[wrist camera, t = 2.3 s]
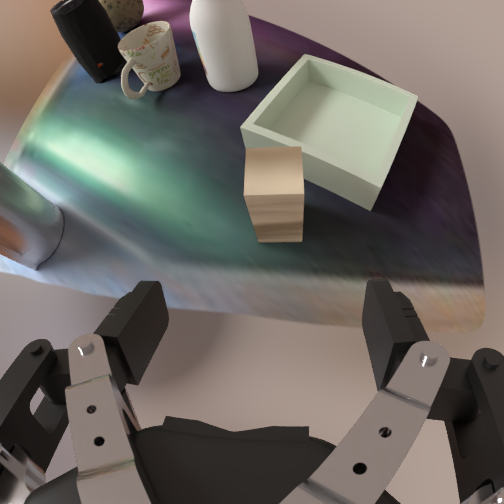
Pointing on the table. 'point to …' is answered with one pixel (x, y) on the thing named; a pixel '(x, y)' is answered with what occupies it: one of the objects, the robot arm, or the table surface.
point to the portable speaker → (90, 37)
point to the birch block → (275, 192)
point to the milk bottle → (224, 43)
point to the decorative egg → (123, 13)
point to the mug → (150, 58)
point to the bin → (334, 126)
